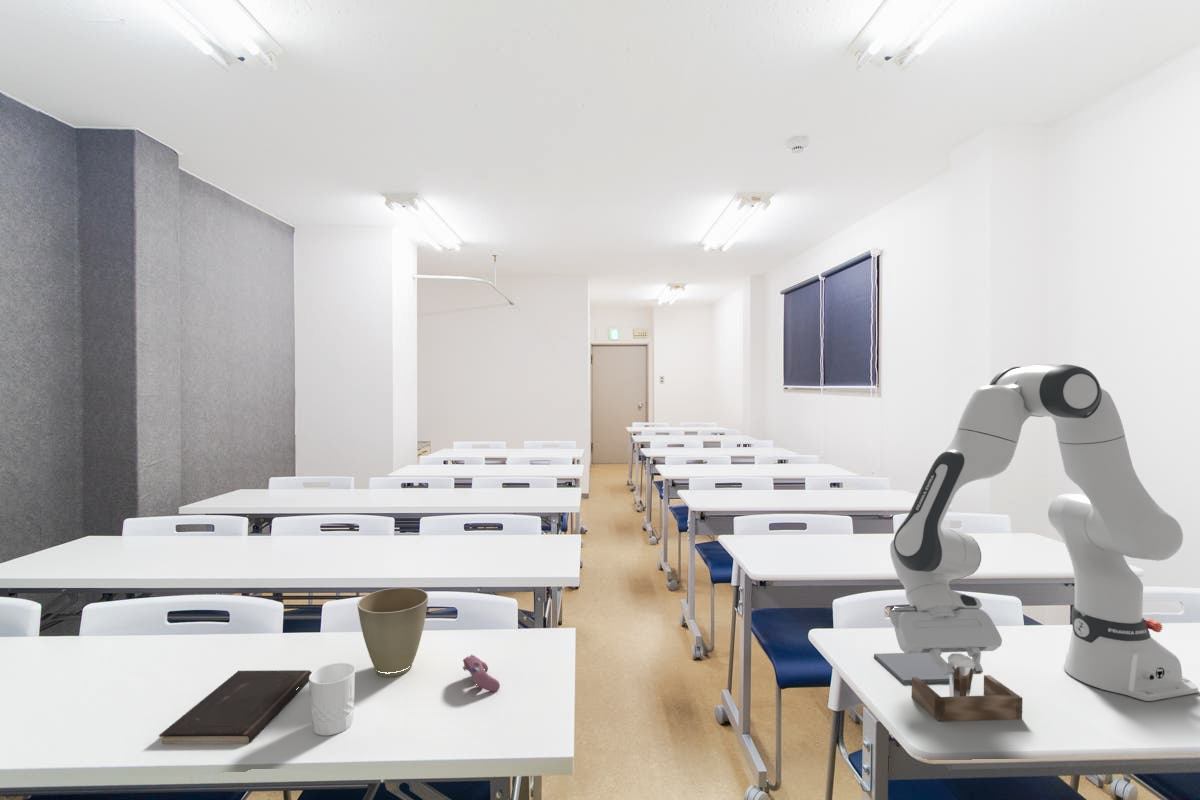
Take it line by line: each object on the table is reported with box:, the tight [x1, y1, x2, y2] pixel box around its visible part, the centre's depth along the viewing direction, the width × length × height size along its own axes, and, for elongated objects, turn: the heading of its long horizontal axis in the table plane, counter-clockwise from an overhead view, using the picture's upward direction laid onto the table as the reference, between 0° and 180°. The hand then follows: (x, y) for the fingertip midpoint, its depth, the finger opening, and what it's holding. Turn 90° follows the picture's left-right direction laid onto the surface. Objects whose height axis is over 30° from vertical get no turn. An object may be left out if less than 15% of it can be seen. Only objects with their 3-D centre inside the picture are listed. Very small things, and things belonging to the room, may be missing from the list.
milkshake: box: [947, 653, 979, 697], centre depth 116 cm, size 4×5×10 cm
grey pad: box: [873, 652, 949, 685], centre depth 130 cm, size 14×12×1 cm
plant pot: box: [356, 586, 429, 678], centre depth 130 cm, size 15×15×16 cm
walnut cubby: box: [911, 674, 1023, 722], centre depth 115 cm, size 16×9×4 cm, turn 93°
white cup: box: [308, 662, 356, 737], centre depth 109 cm, size 8×8×10 cm
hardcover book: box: [158, 669, 313, 744], centre depth 115 cm, size 16×23×2 cm
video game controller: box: [462, 654, 501, 692], centre depth 124 cm, size 10×5×7 cm, turn 28°
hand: (963, 673), depth 115 cm, fingers closed on milkshake, 4 cm apart
